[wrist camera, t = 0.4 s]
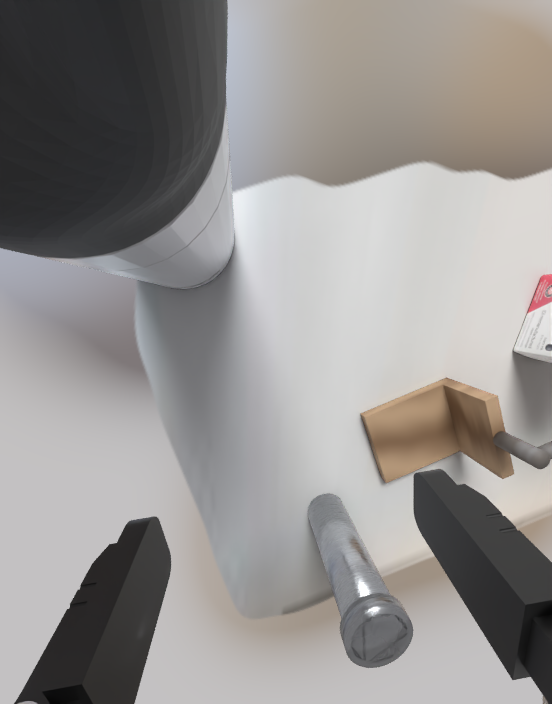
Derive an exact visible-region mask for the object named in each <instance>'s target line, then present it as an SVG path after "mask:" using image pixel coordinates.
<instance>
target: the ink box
mask: <svg viewBox="0 0 552 704" xmlns="http://www.w3.org/2000/svg"><path fill="white" fill-rule="evenodd" d="M514 352H517V353H519V354H521V355H524V356H526V357H529V358H533V359H537V360H541V361H546V362H551V363H552V274H550V275H543V276H542V277H541V279H540V282H539V285H538V287H537V290H536V292H535V295H534V298H533V300H532V303H531V306H530V308H529V311H528V313H527V316H526V318H525V321H524V324H523V326H522V329H521V331H520V334H519V337H518V339H517V342H516V344H515V347H514Z"/></svg>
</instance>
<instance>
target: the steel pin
mask: <svg viewBox="0 0 552 704" xmlns="http://www.w3.org/2000/svg"><path fill="white" fill-rule="evenodd" d="M308 517H309V521H310V524H311V527H312V530H313V533H314V536H315V539H316V542H317V545H318V548H319V551H320V554H321V557H322V560H323V563H324V566H325V569H326V572H327V575H328V578H329V582H330V585H331V588H332V591H333V594H334V597H335V600H336V603H337V606H338V609H339V612H340V615H341V618H342V620H341V623H340V633H341V637H342V640H343V643H344V646H345V650H346V653H347V655H348V657H349V658H350V660H351V661H352V662H354V663H355V664H357V665H359V666H362V667H367V668H374V667H380V666H384V665H387V664H389V663H391V662H393V661H394V660H396V659H397V658H398V657H400V656H401V655H402V654H403V653H404V652H405V650H406V649H407V648H408V646H409V644H410V642H411V639H412V636H413V627H412V623H411V620H410V619H409V617H408V615H407V613H406V611H405V609H404V608H403V606H402V604H401V603H400V601H399V600H398V599H397V598H395V597H393V596H391V595H390V593H389V591H388V589H387V587H386V586H385V583H384V581H383V580H382V578H381V576H380V574H379V572H378V570H377V568H376V566H375V564H374V562H373V560H372V559H371V557H370V555H369V553H368V551H367V549H366V547H365V545H364V543H363V541H362V539H361V537H360V536H359V534H358V532H357V530H356V528H355V526H354V524H353V522H352V520H351V518H350V516H349V514H348V513H347V511H346V509H345V507H344V505H343V503H342V501H341V500H340V498H339V497H337V496H336V495H333V494H323V495H320V496H318V497H316V498H315V499H314V500H313V501H312V502H311V503H310V505H309V507H308Z"/></svg>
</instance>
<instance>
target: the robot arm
mask: <svg viewBox="0 0 552 704" xmlns="http://www.w3.org/2000/svg"><path fill="white" fill-rule="evenodd" d="M226 64H227V0H0V248H3V249H7V250H11V251H16V252H20V253H25V254H30V255H34V256H38V257H42V258H47V259H51V260H55V261H59V262H64V263H68V264H72V265H76V266H81V267H85V268H89V269H94V270H98V271H103V272H107V273H111V274H115V275H119V276H124V277H128V278H132V279H136V280H140V281H145V282H149V283H153V284H157V285H161V286H166V287H170V288H175V289H191V288H195V287H199V286H202V285H204V284H206V283H208V282H210V281H212V280H213V279H214V278H215V277H217V276H218V275H219V274H220V273H221V272H222V270H223V269H224V268H225V267H226V265H227V263H228V261H229V259H230V257H231V255H232V250H233V246H234V214H233V198H232V181H231V165H230V149H229V136H228V135H229V134H228V122H227V105H226ZM414 516H415V520H416V523H417V526H418V528H419V530H420V532H421V534H422V536H423V537H424V539H425V541H426V542H427V544H428V545H429V547H430V549H431V550H432V552H433V553H434V555H435V557H436V558H437V560H438V561H439V563H440V564H441V566H442V568H443V569H444V571H445V573H446V574H447V576H448V577H449V579H450V580H451V582H452V584H453V585H454V587H455V589H456V590H457V592H458V593H459V595H460V597H461V598H462V600H463V601H464V603H465V605H466V606H467V608H468V609H469V611H470V613H471V614H472V616H473V617H474V619H475V621H476V622H477V624H478V625H479V627H480V629H481V630H482V632H483V633H484V635H485V637H486V638H487V640H488V641H489V643H490V645H491V646H492V647H493V649H494V651H495V653H496V654H497V655H498V657H499V659H500V661H501V662H502V664H503V665H504V667H505V669H506V670H507V672H508V673H509V675H510V677H511V678H512V680H516V679H521V678H526V677H531V678H532V679H533V681H534V682H535V684H536V685H537V687H538V688H539V690H540V691H541V692H542V694H543V704H552V562H551V561H550V560H549V559H548V558H547V557H546V556H545V555H543V554H542V553H541V552H540V551H539V550H538V548H537V547H535V546H534V545H533V544H532V543H531V542H530V541H529V540H528V539H527V538H526V537H525V536H524V535H523V534H522V533H521V532H520V531H518V530H517V529H516V527H515V526H514V525H513V524H512V523H511V522H510V521H509V520H508V519H507V518H506V517H505V516H503V515H502V513H501V512H500V511H499V510H498V509H497V508H496V507H495V506H494V505H493V504H492V503H491V502H490V501H489V500H488V499H487V498H486V497H485V496H484V495H482V494H480V493H479V492H477V491H475V490H474V489H472V488H470V487H469V486H467V485H465V484H463V485H457V484H456V483H455V482H454V481H453V480H452V479H451V478H450V477H449V476H448V475H447V474H446V473H445V472H444V471H443V470H441V469H436V470H430V471H424V472H418V473H415V475H414ZM170 571H171V555H170V551H169V548H168V545H167V542H166V539H165V536H164V533H163V530H162V527H161V524H160V521H159V519H158V518H157V517H150V518H143V519H137V520H132V521H129V522H128V523H127V524H126V526H125V528H124V530H123V532H122V534H121V536H120V538H119V540H118V542H117V543H115V544H109V546H108V547H107V548H106V549H105V550H104V551H103V552H102V553H101V555H100V556H99V557H98V558H97V559H96V560H95V561H94V563H93V564H92V565H91V567H90V569H89V571H88V573H87V574H86V576H85V578H84V580H83V582H82V583H81V587H80V590H78V591H77V592H76V595H75V596H74V598H73V600H72V602H71V603H70V608H69V609H67V611H66V613H65V614H64V616H63V618H62V620H61V622H60V623H59V625H58V627H57V629H56V631H55V633H54V634H53V636H52V638H51V640H50V642H49V643H48V645H47V647H46V649H45V651H44V652H43V654H42V656H41V658H40V660H39V661H38V664H37V665H36V667H35V669H34V671H33V673H32V674H31V676H30V678H29V680H28V681H27V683H26V685H25V687H24V689H23V690H22V692H21V694H20V695H19V697H18V699H17V700H16V702H15V703H14V704H134V703H135V699H136V696H137V692H138V688H139V685H140V681H141V677H142V674H143V670H144V667H145V663H146V659H147V656H148V652H149V649H150V645H151V642H152V638H153V634H154V631H155V627H156V624H157V620H158V616H159V613H160V609H161V606H162V602H163V598H164V595H165V591H166V588H167V584H168V580H169V576H170Z"/></svg>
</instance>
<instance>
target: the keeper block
mask: <svg viewBox="0 0 552 704" xmlns="http://www.w3.org/2000/svg"><path fill="white" fill-rule="evenodd" d="M361 417H362V420H363V423H364V426H365V429H366V432H367V435H368V438H369V441H370V444H371V447H372V450H373V453H374V456H375V459H376V462H377V465H378V468H379V471H380V474H381V477H382V479H383V480H384V481H385V482H386V483H388V482H390V481H392V480H395V479H397V478H399V477H402V476H404V475H406V474H408V473H411V472H413V471H415V470H418V469H420V468H422V467H425V466H427V465H429V464H431V463H434V462H436V461H438V460H441V459H443V458H445V457H447V456H450V455H452V454H454V453H457V452H459V451H461V452H463V453H464V454H466V455H467V456H469V457H470V458H472V459H473V460H475V461H476V462H478V463H479V464H481V465H482V466H484V467H485V468H487V469H488V470H490V471H491V472H493V473H494V474H496V475H497V476H499V477H500V478H502V479H504V478H506V477H509V476H511V475H513V474H514V470H513V465H512V461H511V456H510V454H512V455H514V456H516V457H518V458H519V459H521V460H523V461H525V462H527V463H528V464H530V465H532V466H534V467H536V468H537V469H543V468H545V467H546V466H547V465H548V464H549V462H550V459H552V441H551V442H549V443H547V444H544V445H542V446H540V447H535V446H533V445H530V444H528V443H526V442H524V441H522V440H520V439H518V438H516V437H514V436H512V435H510V434H508V433H506V432H505V428H504V423H503V419H502V414H501V409H500V405H499V400H498V396H496V395H494V394H491V393H488V392H485V391H482V390H480V389H477V388H474V387H471V386H468V385H466V384H463V383H460V382H457V381H454V380H452V379H449V378H445V379H443V380H440V381H438V382H435V383H433V384H431V385H428V386H426V387H423V388H421V389H419V390H416V391H414V392H411V393H409V394H407V395H404V396H402V397H399V398H397V399H395V400H392V401H390V402H387V403H385V404H383V405H380V406H378V407H376V408H373V409H371V410H368V411H366V412H364V413H361Z"/></svg>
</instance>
